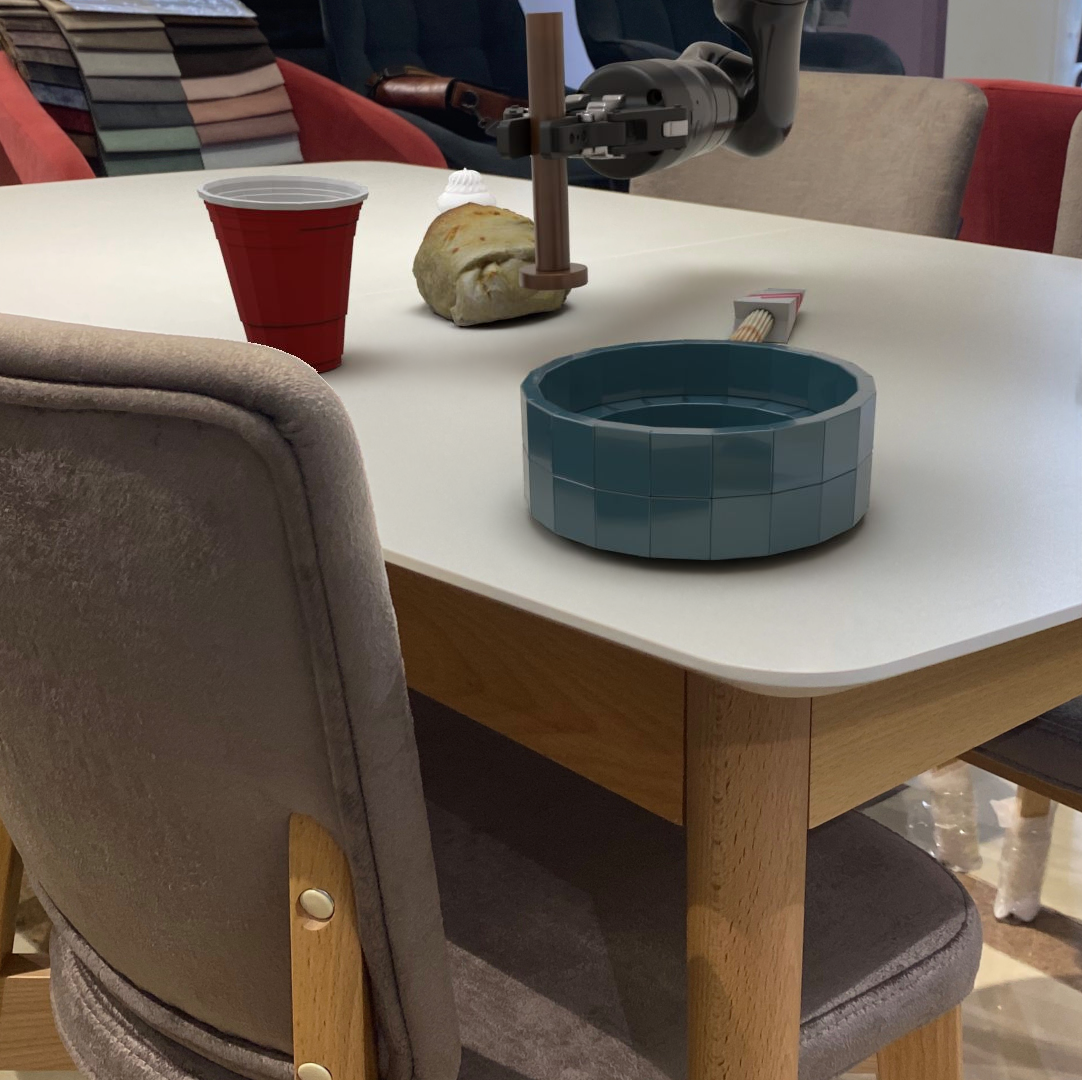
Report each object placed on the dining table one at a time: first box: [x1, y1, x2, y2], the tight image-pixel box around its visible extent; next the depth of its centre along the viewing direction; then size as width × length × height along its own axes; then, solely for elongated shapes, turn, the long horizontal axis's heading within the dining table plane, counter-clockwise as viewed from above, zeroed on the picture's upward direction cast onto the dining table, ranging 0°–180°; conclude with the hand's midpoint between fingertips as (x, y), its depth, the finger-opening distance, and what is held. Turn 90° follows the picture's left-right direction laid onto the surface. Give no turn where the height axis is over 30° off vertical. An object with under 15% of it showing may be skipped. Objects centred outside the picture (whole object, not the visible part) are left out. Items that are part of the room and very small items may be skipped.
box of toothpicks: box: [728, 287, 807, 344], centre depth 89 cm, size 4×3×20 cm
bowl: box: [519, 338, 878, 561], centre depth 59 cm, size 16×16×6 cm
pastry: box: [411, 202, 572, 327], centre depth 100 cm, size 14×12×8 cm
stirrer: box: [518, 11, 589, 291], centre depth 80 cm, size 4×4×16 cm
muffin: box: [436, 167, 498, 214], centre depth 133 cm, size 6×6×7 cm
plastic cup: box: [196, 174, 370, 373], centre depth 85 cm, size 11×11×12 cm
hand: (525, 140), depth 77 cm, fingers closed on stirrer, 2 cm apart
